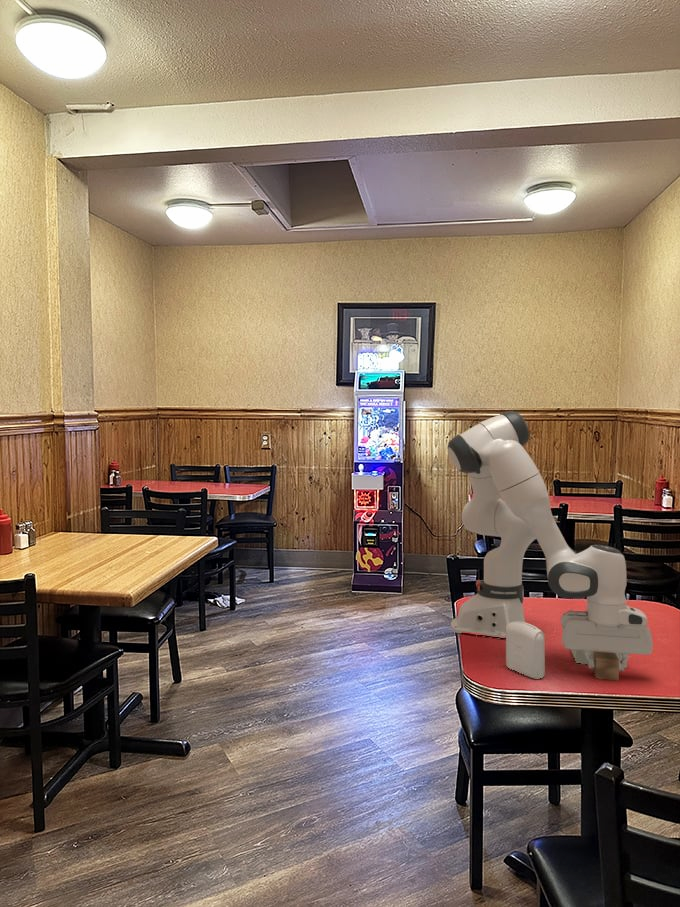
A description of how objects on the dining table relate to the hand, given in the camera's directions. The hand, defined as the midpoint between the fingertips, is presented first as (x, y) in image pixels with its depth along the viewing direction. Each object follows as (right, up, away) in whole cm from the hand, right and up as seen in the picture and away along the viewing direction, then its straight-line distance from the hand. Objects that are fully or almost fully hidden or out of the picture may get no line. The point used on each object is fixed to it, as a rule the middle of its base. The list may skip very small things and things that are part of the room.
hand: (605, 668), depth 154 cm
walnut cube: (0, -2, 0) cm, 2 cm away
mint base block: (+3, -1, +13) cm, 13 cm away
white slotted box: (-19, -2, +3) cm, 19 cm away
